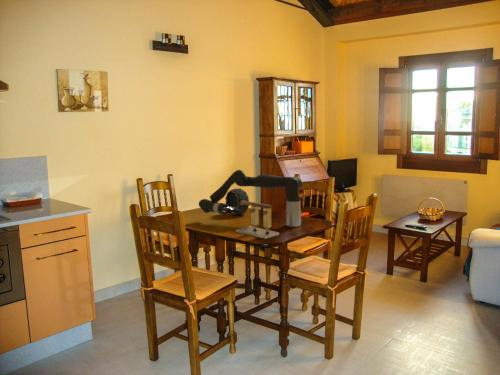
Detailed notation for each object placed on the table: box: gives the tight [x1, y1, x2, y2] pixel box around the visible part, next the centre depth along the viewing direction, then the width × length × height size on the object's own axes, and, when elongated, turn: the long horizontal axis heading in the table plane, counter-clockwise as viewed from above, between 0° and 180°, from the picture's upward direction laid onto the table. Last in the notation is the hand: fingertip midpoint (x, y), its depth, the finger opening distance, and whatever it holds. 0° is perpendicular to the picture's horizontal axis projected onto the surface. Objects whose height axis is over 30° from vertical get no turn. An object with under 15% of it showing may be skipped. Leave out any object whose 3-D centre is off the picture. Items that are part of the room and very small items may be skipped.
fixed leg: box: [262, 208, 272, 233], centre depth 291 cm, size 5×4×16 cm
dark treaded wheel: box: [225, 188, 250, 216], centre depth 355 cm, size 11×20×20 cm, turn 35°
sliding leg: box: [249, 206, 260, 231], centre depth 298 cm, size 5×4×16 cm
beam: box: [241, 200, 272, 209], centre depth 297 cm, size 3×24×2 cm, turn 46°
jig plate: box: [235, 225, 280, 240], centre depth 299 cm, size 13×26×2 cm, turn 46°
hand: (238, 211), depth 309 cm, fingers closed
